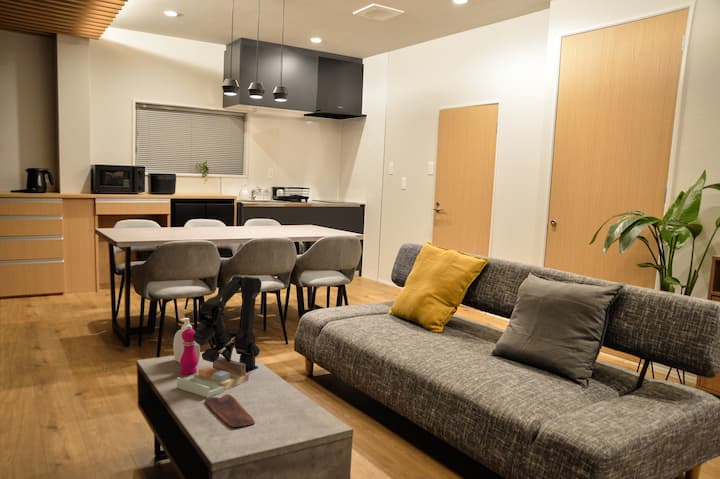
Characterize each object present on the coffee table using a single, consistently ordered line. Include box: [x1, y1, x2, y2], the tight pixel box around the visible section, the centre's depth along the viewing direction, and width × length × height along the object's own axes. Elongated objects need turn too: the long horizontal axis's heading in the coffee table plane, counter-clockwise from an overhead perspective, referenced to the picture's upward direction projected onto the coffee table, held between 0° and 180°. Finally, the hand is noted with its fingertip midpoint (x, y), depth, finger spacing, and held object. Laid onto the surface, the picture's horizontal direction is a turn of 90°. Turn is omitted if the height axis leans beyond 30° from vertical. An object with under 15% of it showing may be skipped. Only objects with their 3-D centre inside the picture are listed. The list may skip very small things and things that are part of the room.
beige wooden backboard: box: [193, 369, 249, 392], centre depth 220 cm, size 14×16×3 cm
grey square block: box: [213, 370, 230, 382], centre depth 214 cm, size 4×4×2 cm
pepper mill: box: [179, 325, 199, 376], centre depth 228 cm, size 7×7×20 cm
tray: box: [176, 376, 225, 399], centre depth 211 cm, size 8×17×4 cm, turn 58°
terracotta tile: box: [198, 365, 215, 378], centre depth 218 cm, size 4×4×2 cm
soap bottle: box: [172, 317, 201, 366], centre depth 239 cm, size 16×5×20 cm, turn 43°
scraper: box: [212, 356, 247, 377], centre depth 223 cm, size 2×16×4 cm, turn 58°
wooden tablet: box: [204, 394, 256, 428], centre depth 192 cm, size 26×2×10 cm
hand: (229, 360), depth 223 cm, fingers closed, pressing on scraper
